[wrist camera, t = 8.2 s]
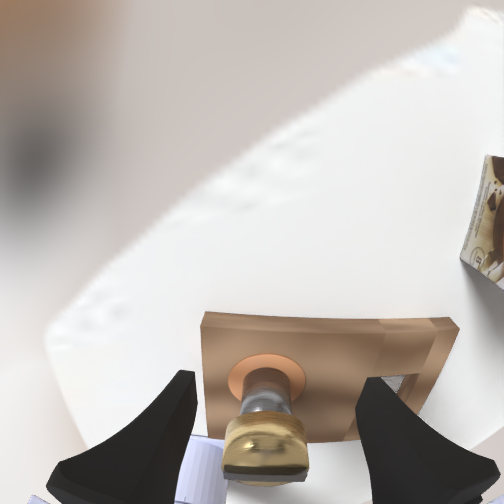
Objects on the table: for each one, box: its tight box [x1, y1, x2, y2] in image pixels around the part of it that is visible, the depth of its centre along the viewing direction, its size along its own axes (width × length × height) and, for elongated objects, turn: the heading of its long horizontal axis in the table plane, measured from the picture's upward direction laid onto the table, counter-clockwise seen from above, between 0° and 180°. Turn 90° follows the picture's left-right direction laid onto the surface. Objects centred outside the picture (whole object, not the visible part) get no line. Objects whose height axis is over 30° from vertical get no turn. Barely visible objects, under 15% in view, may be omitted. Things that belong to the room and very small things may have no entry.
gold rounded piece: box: [221, 367, 309, 486], centre depth 17 cm, size 5×5×9 cm
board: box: [200, 311, 460, 443], centre depth 23 cm, size 14×21×2 cm, turn 87°
